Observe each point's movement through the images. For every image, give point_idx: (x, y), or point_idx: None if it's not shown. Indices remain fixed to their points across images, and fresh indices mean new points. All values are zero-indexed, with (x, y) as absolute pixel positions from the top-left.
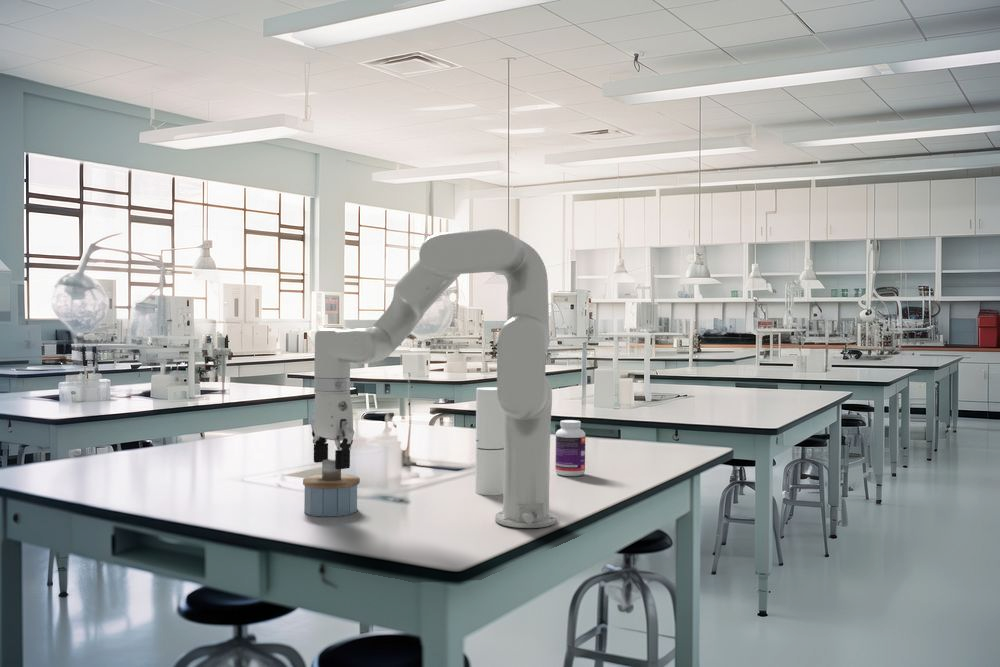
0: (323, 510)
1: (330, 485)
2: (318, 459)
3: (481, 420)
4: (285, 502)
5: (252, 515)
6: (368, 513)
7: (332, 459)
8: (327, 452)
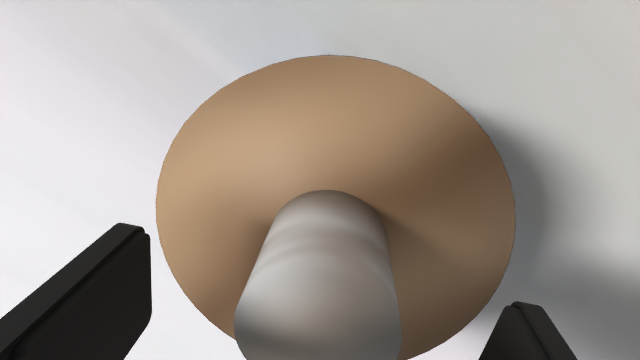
0: None
1: (449, 334)
2: (138, 315)
3: None
4: (96, 197)
5: (210, 354)
6: (505, 94)
7: (269, 299)
8: (100, 284)
